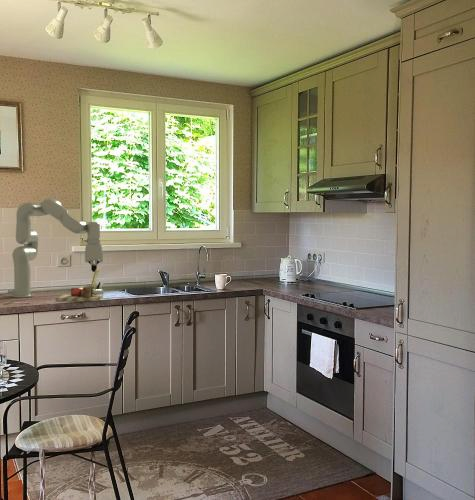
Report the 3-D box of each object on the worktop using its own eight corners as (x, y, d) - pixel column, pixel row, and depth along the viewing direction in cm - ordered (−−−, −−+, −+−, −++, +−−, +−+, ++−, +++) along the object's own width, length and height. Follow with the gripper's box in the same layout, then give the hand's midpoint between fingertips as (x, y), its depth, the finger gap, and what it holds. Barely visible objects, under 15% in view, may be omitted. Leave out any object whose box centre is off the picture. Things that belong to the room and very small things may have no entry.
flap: (90, 287, 340) (95, 269, 340) (93, 285, 350) (98, 268, 350) (92, 287, 341) (96, 270, 340) (95, 285, 351) (99, 268, 350)
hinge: (92, 293, 373) (97, 279, 373) (99, 295, 374) (104, 281, 374) (89, 296, 357) (94, 282, 357) (96, 299, 358) (101, 284, 358)
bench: (56, 301, 338) (56, 287, 337) (62, 297, 352) (62, 285, 351) (98, 301, 339) (98, 287, 339) (102, 297, 353) (102, 285, 353)
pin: (70, 296, 343) (70, 288, 342) (72, 295, 348) (72, 287, 347) (102, 296, 344) (102, 288, 343) (103, 295, 349) (103, 287, 348)
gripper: (79, 242, 340) (80, 272, 341) (105, 242, 341) (105, 272, 342) (82, 241, 347) (83, 271, 348) (107, 241, 348) (107, 271, 349)
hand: (94, 271), depth 345 cm, fingers closed
